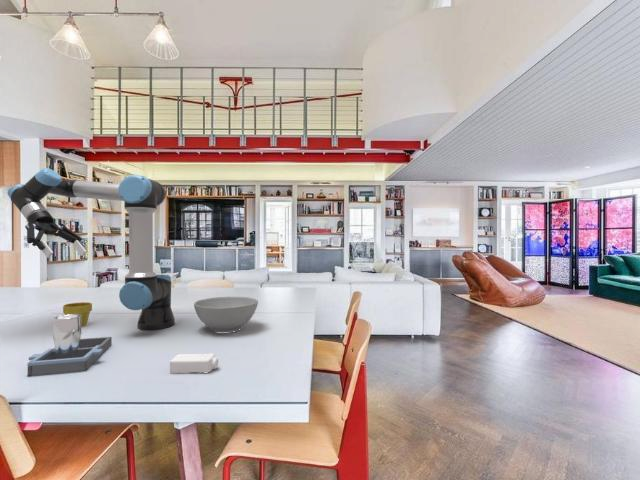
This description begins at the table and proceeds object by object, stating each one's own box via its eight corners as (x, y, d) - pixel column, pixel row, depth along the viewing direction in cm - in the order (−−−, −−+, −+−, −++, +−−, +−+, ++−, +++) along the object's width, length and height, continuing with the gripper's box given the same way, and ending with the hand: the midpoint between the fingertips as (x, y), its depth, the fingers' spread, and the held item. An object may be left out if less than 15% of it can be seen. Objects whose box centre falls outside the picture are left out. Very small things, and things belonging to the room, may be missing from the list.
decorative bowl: (269, 325, 149) (269, 299, 149) (230, 342, 125) (231, 310, 125) (223, 319, 160) (223, 294, 160) (179, 333, 136) (179, 304, 136)
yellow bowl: (96, 325, 147) (96, 303, 147) (68, 330, 138) (69, 307, 138) (85, 322, 152) (85, 301, 152) (58, 327, 144) (58, 304, 144)
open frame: (117, 344, 121) (117, 334, 121) (93, 370, 97) (93, 357, 97) (59, 348, 115) (59, 338, 115) (18, 377, 91) (18, 363, 91)
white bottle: (214, 374, 95) (214, 360, 95) (169, 374, 95) (169, 360, 95) (220, 366, 102) (220, 352, 102) (178, 366, 101) (178, 352, 101)
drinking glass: (49, 371, 96) (50, 320, 96) (55, 363, 102) (56, 315, 102) (78, 367, 99) (79, 317, 99) (83, 359, 105) (83, 313, 105)
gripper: (63, 224, 144) (90, 259, 141) (-4, 221, 120) (28, 263, 116) (73, 212, 143) (101, 247, 140) (7, 206, 118) (40, 248, 115)
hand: (68, 254), depth 128 cm, fingers open, 13 cm apart
